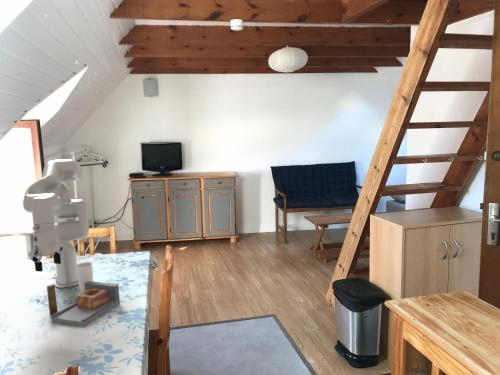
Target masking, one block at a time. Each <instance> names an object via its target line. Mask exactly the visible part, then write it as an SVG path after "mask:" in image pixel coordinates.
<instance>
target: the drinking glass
mask: <svg viewBox="0 0 500 375" xmlns="http://www.w3.org/2000/svg"><path fill="white" fill-rule="evenodd" d="M76 269H77V277H78V282H79V284H78V286H79V291H80V294H81V293H82V292H84V291H85V286H84V283H86V282H88V281H91V282H94V274H93V272H94V271H93V270H94V269H93V263H92V262H88V261H86V262H81V263H77V266H76Z"/></svg>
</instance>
